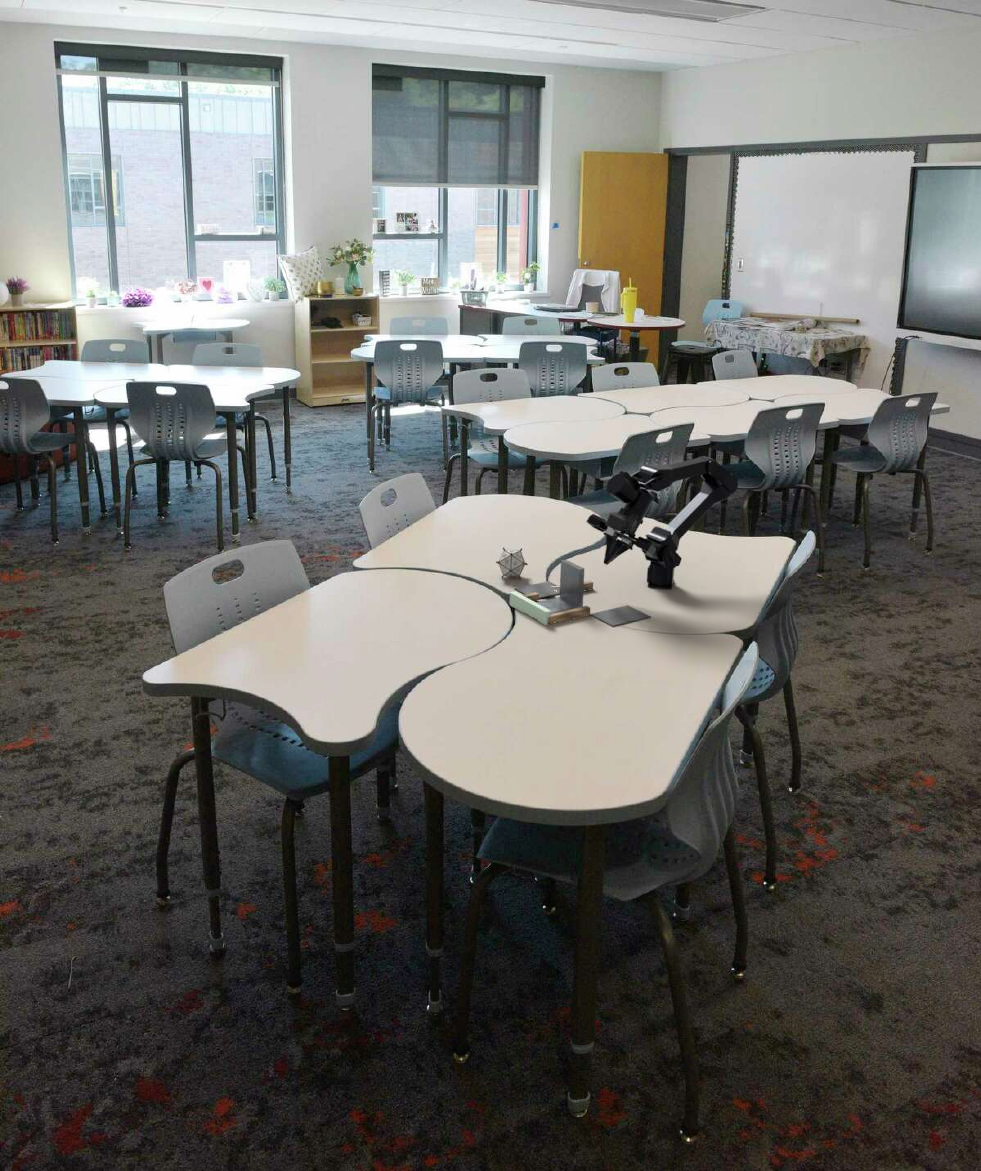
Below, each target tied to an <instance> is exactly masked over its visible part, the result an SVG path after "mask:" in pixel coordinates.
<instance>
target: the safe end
mask: <svg viewBox="0 0 981 1171" xmlns="http://www.w3.org/2000/svg"><path fill="white" fill-rule="evenodd" d="M523 595H524V594H522V593H520V592H518V591H516V590H515V591H510V592H509V606H511V607H512V608H514V609H516V610H518V611H519V612H521V613H523V614H524V613H526V614H528V615H529V616H528V615H527V616H528V617H530V616H531V617H530V618H532V617H534V618H535V619H537V620H538V623H540V622H542V623H543V625H544V624H545V625H544V626H548V625H547V623H548V617H551V611H550V610H549V609H547V608H545V607H543V606H541V605H539V604H537V603H536V602H534V601H532V600H530V599H528V598H526V597H525V596H523ZM526 614H525V615H526ZM535 619H534V620H535ZM537 620H536V621H537ZM542 623H541V624H542Z"/></svg>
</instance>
